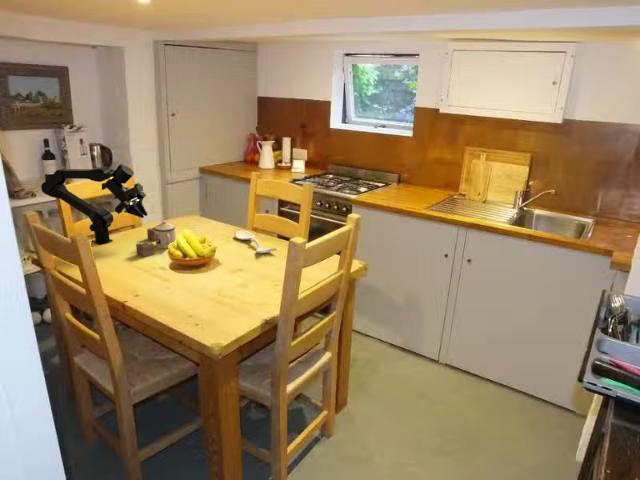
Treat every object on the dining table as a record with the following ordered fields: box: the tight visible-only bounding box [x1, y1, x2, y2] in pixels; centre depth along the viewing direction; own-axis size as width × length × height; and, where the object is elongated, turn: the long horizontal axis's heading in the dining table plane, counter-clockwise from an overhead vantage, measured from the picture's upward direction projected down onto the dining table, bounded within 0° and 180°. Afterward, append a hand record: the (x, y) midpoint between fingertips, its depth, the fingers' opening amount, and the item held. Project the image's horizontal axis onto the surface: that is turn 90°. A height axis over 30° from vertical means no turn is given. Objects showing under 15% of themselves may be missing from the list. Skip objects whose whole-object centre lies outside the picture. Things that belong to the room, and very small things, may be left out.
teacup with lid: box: [154, 220, 176, 250], centre depth 207 cm, size 12×9×12 cm
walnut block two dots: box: [135, 240, 155, 259], centre depth 198 cm, size 5×5×5 cm
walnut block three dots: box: [146, 226, 156, 242], centre depth 217 cm, size 5×5×5 cm
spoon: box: [233, 230, 278, 254], centre depth 216 cm, size 9×32×4 cm, turn 32°
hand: (145, 216), depth 205 cm, fingers open, 3 cm apart
